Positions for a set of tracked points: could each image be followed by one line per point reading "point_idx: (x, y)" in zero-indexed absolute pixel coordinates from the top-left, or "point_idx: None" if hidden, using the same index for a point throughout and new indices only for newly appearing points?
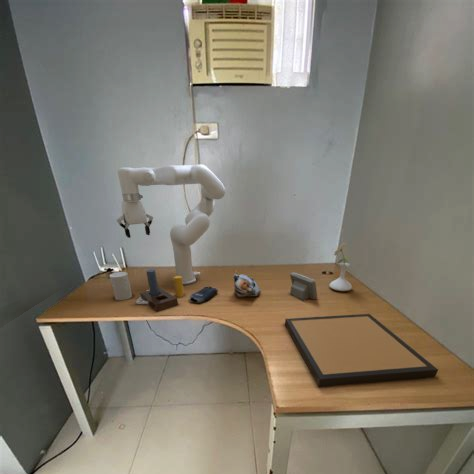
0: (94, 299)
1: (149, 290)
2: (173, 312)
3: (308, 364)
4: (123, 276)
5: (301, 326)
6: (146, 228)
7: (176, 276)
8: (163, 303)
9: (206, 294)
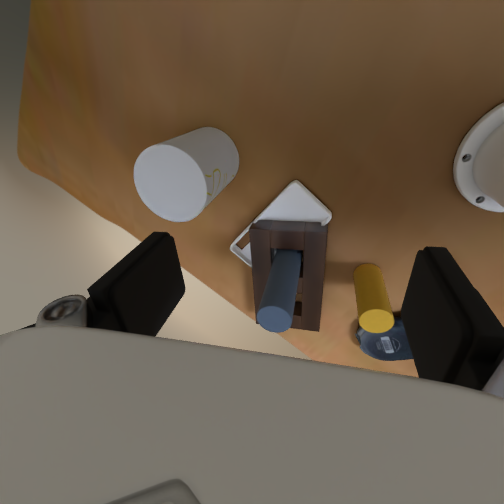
0: (120, 108)
1: (283, 232)
2: (289, 335)
3: None
4: (187, 220)
5: None
6: (431, 364)
7: (376, 315)
8: None
9: (405, 356)
